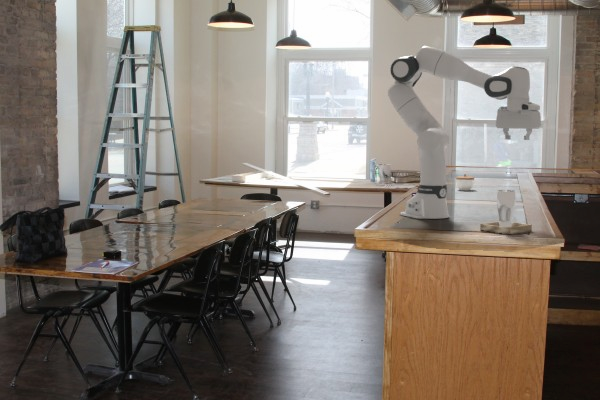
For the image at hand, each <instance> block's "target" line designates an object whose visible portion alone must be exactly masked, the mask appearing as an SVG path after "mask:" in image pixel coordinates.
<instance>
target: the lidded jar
mask: <svg viewBox="0 0 600 400" xmlns="http://www.w3.org/2000/svg"><path fill="white" fill-rule="evenodd" d="M463 175H464V176H462V175H461V176H459V175H458V176H456V177H455V184H456V187H457V189H459V191H470V190H471V189H473V187H474V184H475V177H474V176H469V175H468V176H467V174H465V173H464V174H463Z"/></svg>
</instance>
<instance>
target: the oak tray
mask: <svg viewBox="0 0 600 400" xmlns="http://www.w3.org/2000/svg"><path fill="white" fill-rule="evenodd" d="M498 222H499V220H498V221H492V222H486V223H480V226H479V227H480V228H479V230H484V231H483V232H486V231H490V232H489V233H493V232H495V233H494V234H499V233H502V234H501V235H506V234H512V235H517V234H518V233H519V234H524V233H525V234H526V233H530V232H532V231H533V227H532V226H533V224H530V223H529V224H528V223H522V222H516V221H515V222H514V221H513V227H510V228H508V227H501V226H498Z"/></svg>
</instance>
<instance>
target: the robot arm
mask: <svg viewBox="0 0 600 400" xmlns="http://www.w3.org/2000/svg"><path fill="white" fill-rule="evenodd" d="M423 73H428V74H431V75H433V76H435V77H438V78H440V79H445V80H449V81H456V82H457V81H459V82H465V83H467V84H468V83H469V84H471V85H473V86H476V87H478V88H481V89H483V90H484V92H485V94H486V95H487V96H488V97H490V98H492V99H496V100H501V101H502V100H506V105H505V106H500V107H498V109H497V111H496V114H497V115H496V118H495V127H496V129H502V132H503V135H504V137H505V138H504V140H507V141H508V140H511V137H512V136H511V135H510V134H509V131H510V129H512V130H513V129H514V130H515V129H516V130H517V129H520V130H525V132H526V134H525V135H524V136H523V140H524V141H530V137H531V134H532V133H533V130H538V129H540V127H541V123H542V119H541V117H542V116H541V113H540V109H541V106H540V104H538V103H535V102H531V101H530V95H529V93H530V90H531V89H530V88H531V79H530V78H531V77H530V71H529V70H528V69H527V68H525V67H521V66H515V65H512V66H510V67H509V68H507V69H506V70H504V71H502V72H499V73H496V74H493V75H491V74H488V73H485V72H482V71H481V70H477V69H475V68H473V67H472V66H470V65H469V64H467V63H465V62H464V61H463V60H462V59H460V58H459V57H458V56H456V55H454V54H453V53H451V52H448V51H446V50H444V49H440V48H438V47H437V48H436V47H433V46H429V45H423V46H422V47H420V48H419V49H418V50H417V52H416V54H415V56H413V55H407V56H401V57H398V58H396V59H395V60H394V61H393V62H392V63H391V65H390V75H391V76H392V78H393V79H394V82H393V84H391V86H390V87H389V89H388V90H387V96H388V98H389V100H390V103H391V104H392V106H393V107H394V109H395V111H396V112H397V114H398V115H399V116H400V118H401V119H402V120H403V122H404V123H405V125H406V126H407V128H409V130H411V131H412V132H413V133H414V134H415V135H416V136H417V140H416V143H417V147H418V148H417V151H418V157H419V166H420V170H419V173H420V175H419V176H420V181H419V182H420V183H419V185H416V186H415V189H416V190H417V191H416V194H414V195H413V196H412V197H411V198H409V199H408V200H407V201H406V203H405V209H404V211H401V212H400V213H399V216H405V217H407V218H413V219H419V220H422V219H424V220H428V219H432V220H433V219H439V220H440V219H447V218H450V214H449V211H448V210H449V209H448V204H447V194H448V191H447V190H448V187H447V186H448V185H447V166H446V160H445V150H446V149H447V147H448V146H449V144H450V136H449V134H448V132H447V131H446V129H444V127H443V126H442V124H441V123H439V121H438V120H437V119H436V118H435V116H433V114H431V112H430V111H429V110H428V108H427V107H426V106H425V104H424V103H423V101H422V100H421V99H420V98H419V96H418V95H417V93H416V92H415V91H414V88H413V87H415V85H416V84H417V82H418V81H419V80H420V78H421V77H422V74H423Z"/></svg>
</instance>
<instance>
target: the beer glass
mask: <svg viewBox="0 0 600 400" xmlns="http://www.w3.org/2000/svg"><path fill="white" fill-rule="evenodd" d="M496 193H497V194H496V211H497V216H498V221H499V222H498V221H497V222H498V226H501V227H508V228H510V227H513V222H514V215H515V209H516V190H514V189H497V192H496Z"/></svg>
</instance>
